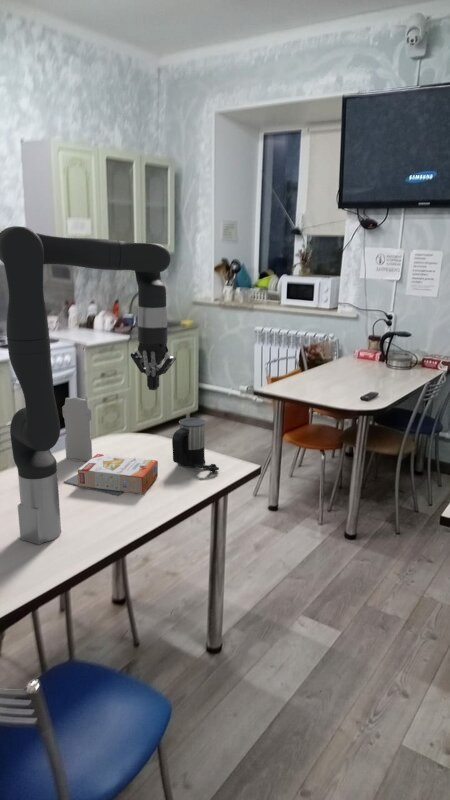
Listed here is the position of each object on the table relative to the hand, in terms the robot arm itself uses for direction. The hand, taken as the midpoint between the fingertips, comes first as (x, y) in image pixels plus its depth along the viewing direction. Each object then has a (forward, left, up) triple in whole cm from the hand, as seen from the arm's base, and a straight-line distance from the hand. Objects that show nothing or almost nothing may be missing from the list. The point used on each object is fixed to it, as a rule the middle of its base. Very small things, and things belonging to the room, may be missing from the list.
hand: (153, 389), depth 150 cm
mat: (+13, +24, -35) cm, 44 cm away
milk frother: (+33, +3, -35) cm, 49 cm away
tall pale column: (+19, +42, -35) cm, 58 cm away
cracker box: (+12, +9, -32) cm, 35 cm away
